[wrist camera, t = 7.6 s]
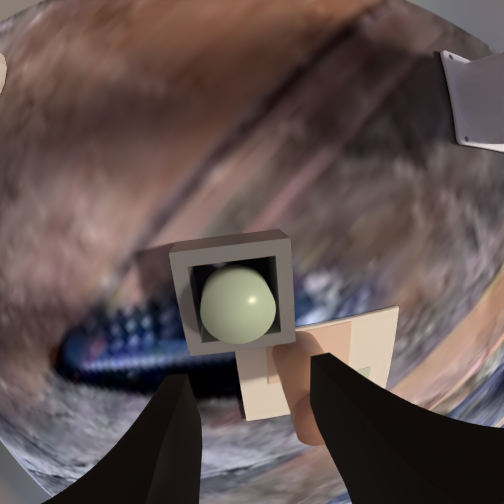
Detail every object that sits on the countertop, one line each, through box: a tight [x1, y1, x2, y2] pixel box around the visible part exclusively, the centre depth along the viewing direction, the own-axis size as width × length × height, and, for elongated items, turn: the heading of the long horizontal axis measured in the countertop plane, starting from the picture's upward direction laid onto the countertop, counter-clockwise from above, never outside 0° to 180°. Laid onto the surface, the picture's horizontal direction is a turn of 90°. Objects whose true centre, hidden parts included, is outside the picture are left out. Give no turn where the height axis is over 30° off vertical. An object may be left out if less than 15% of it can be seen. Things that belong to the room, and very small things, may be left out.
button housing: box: [169, 229, 296, 356], centre depth 16 cm, size 6×6×2 cm
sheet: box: [235, 305, 399, 421], centre depth 19 cm, size 12×8×1 cm, turn 96°
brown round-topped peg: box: [272, 331, 325, 446], centre depth 15 cm, size 3×3×7 cm
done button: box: [200, 264, 276, 344], centre depth 15 cm, size 4×4×2 cm
